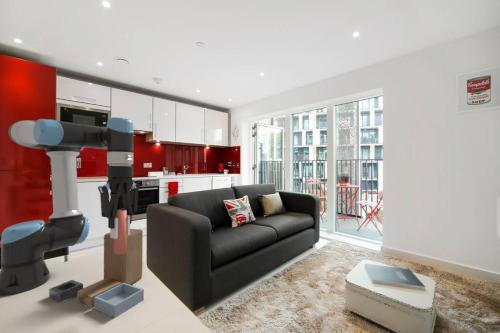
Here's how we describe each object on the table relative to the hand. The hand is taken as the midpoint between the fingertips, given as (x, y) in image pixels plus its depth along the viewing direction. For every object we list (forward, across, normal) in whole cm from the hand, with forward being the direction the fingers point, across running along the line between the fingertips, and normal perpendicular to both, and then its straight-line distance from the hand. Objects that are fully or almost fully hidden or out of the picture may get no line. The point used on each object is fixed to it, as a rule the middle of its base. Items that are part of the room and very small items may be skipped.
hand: (120, 235), depth 75 cm
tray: (+23, 0, 0) cm, 23 cm away
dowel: (+6, 0, 0) cm, 6 cm away
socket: (+22, -4, +22) cm, 32 cm away
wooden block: (+23, +10, +12) cm, 28 cm away
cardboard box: (+23, 0, +10) cm, 25 cm away
